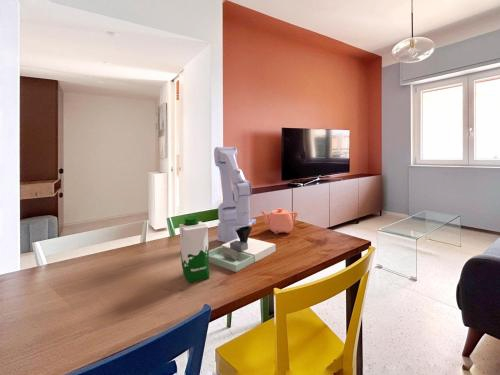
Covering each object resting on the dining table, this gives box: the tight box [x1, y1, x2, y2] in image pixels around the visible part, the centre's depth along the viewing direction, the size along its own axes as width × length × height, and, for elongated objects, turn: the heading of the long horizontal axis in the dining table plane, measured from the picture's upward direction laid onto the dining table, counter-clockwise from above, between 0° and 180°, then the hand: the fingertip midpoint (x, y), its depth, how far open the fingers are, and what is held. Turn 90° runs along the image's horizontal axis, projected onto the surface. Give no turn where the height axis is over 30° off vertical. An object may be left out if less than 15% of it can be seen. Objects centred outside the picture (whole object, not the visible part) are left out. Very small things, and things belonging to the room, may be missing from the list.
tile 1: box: [220, 247, 239, 261], centre depth 104 cm, size 6×4×2 cm
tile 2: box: [230, 240, 248, 252], centre depth 108 cm, size 6×4×2 cm, turn 51°
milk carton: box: [178, 216, 210, 284], centre depth 90 cm, size 9×9×20 cm
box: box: [208, 246, 255, 273], centre depth 103 cm, size 18×10×3 cm, turn 51°
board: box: [221, 237, 277, 263], centre depth 113 cm, size 18×14×3 cm
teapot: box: [259, 207, 299, 235], centre depth 139 cm, size 13×20×12 cm, turn 97°
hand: (243, 244), depth 110 cm, fingers closed
